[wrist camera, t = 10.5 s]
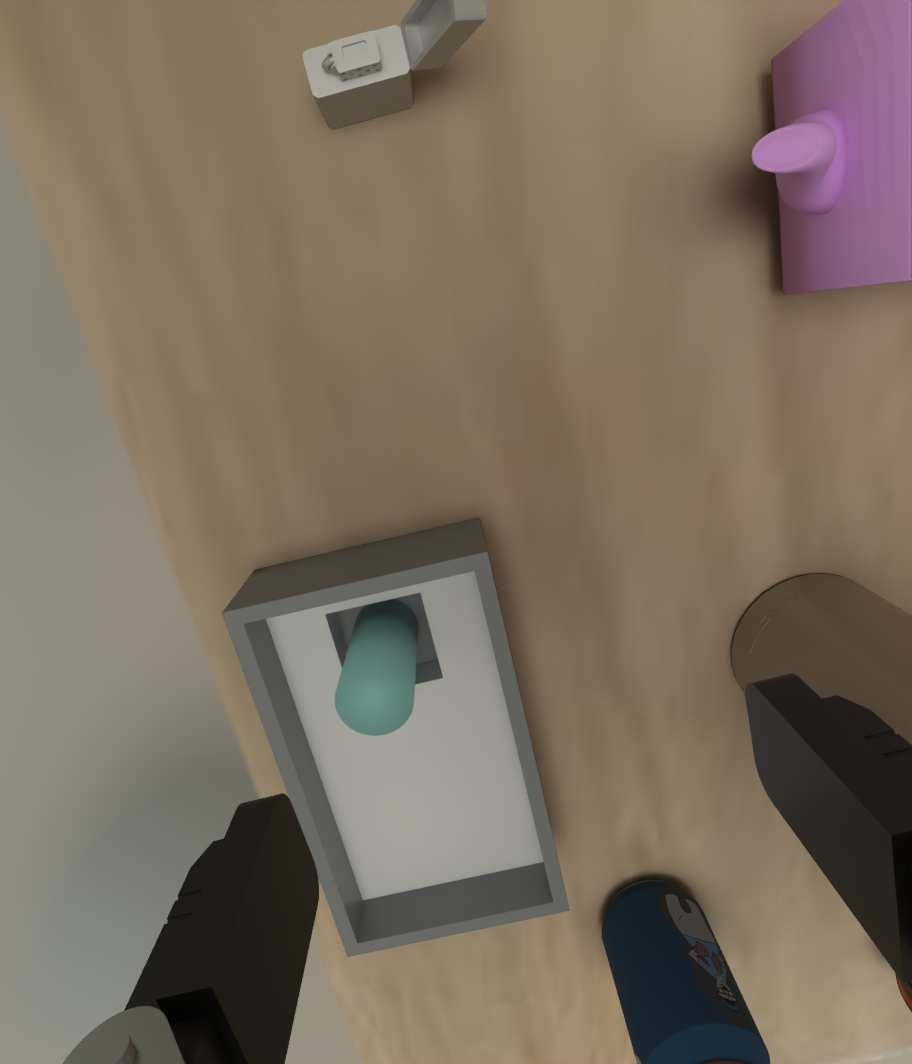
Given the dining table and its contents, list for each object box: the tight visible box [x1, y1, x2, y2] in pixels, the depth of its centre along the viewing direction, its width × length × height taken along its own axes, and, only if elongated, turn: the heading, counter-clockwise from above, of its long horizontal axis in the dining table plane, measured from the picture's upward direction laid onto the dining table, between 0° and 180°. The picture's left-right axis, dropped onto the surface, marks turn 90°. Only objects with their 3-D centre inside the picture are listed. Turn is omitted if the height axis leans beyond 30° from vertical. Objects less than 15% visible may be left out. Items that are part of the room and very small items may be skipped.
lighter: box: [302, 0, 487, 129], centre depth 27 cm, size 7×2×8 cm, turn 104°
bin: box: [222, 518, 570, 957], centre depth 37 cm, size 13×22×6 cm, turn 13°
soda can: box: [602, 880, 770, 1064], centre depth 40 cm, size 7×7×12 cm
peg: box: [335, 599, 418, 736], centre depth 34 cm, size 4×4×8 cm
